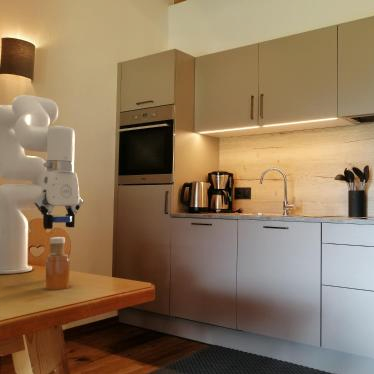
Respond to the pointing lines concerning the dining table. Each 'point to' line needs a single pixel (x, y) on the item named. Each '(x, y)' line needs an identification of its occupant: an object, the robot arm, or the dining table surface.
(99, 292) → the dining table surface
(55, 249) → the sprinkles bottle
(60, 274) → the jar
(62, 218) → the lid
